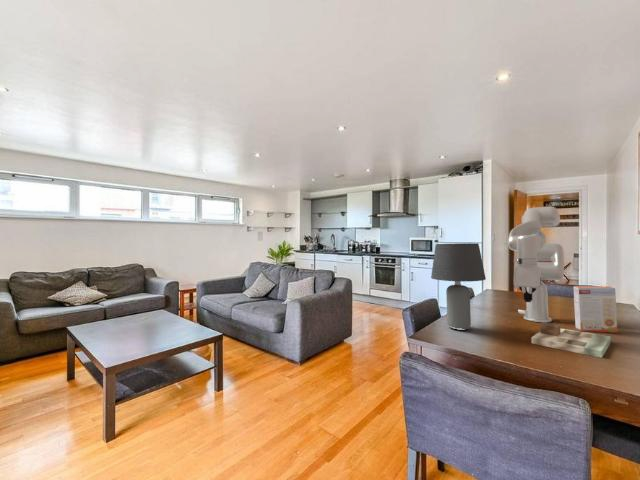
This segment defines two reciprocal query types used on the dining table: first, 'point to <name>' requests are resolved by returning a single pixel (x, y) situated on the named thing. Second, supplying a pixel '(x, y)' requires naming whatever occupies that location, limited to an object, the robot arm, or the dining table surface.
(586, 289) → the cracker box
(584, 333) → the plate
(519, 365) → the dining table surface
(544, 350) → the dining table surface
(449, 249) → the lamp
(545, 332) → the brown block
